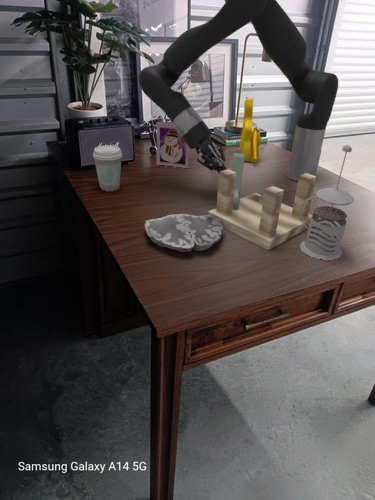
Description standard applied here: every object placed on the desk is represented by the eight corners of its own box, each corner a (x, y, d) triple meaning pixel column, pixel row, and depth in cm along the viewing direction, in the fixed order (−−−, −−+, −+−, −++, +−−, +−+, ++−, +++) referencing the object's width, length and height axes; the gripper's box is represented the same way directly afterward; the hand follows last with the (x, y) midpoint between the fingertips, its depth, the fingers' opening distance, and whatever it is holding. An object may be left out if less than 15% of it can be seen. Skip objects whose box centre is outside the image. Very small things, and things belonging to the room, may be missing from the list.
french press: (336, 265, 87) (368, 156, 74) (286, 249, 92) (308, 144, 79) (346, 247, 94) (377, 144, 81) (300, 233, 99) (322, 134, 86)
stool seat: (254, 200, 115) (260, 156, 108) (313, 225, 103) (325, 176, 96) (207, 219, 103) (211, 171, 96) (268, 250, 91) (277, 197, 84)
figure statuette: (260, 168, 139) (269, 104, 128) (238, 167, 140) (245, 103, 128) (257, 153, 154) (265, 95, 143) (237, 152, 155) (244, 93, 143)
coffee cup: (90, 190, 117) (86, 150, 111) (105, 180, 124) (102, 143, 117) (114, 195, 114) (112, 155, 108) (129, 185, 121) (127, 147, 115)
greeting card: (156, 166, 137) (156, 122, 129) (161, 159, 143) (162, 117, 136) (187, 169, 135) (189, 125, 128) (192, 163, 142) (194, 120, 134)
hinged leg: (239, 209, 103) (244, 169, 97) (228, 208, 103) (232, 168, 97) (239, 190, 114) (244, 153, 108) (229, 190, 114) (233, 153, 108)
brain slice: (154, 264, 85) (154, 252, 83) (140, 227, 99) (140, 217, 97) (237, 253, 90) (239, 242, 88) (213, 220, 104) (213, 210, 102)
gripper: (193, 131, 117) (227, 178, 119) (172, 141, 107) (209, 192, 108) (210, 115, 112) (245, 164, 114) (190, 124, 102) (228, 178, 104)
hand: (227, 178), depth 111 cm, fingers closed
